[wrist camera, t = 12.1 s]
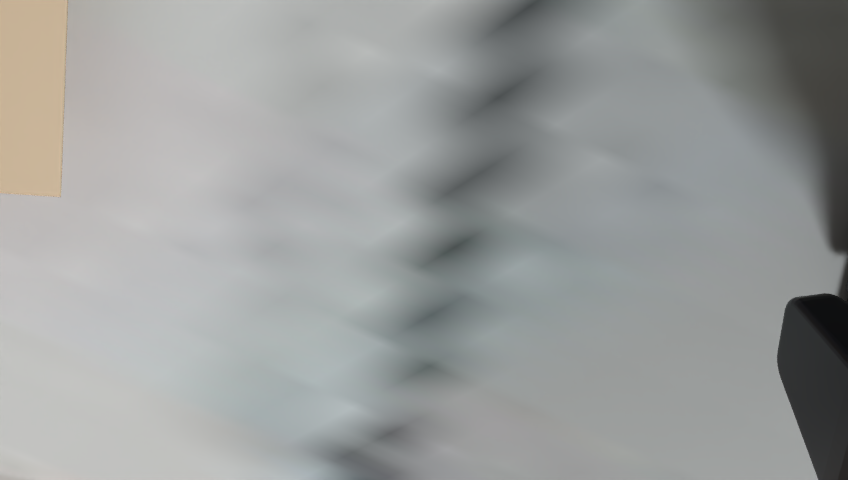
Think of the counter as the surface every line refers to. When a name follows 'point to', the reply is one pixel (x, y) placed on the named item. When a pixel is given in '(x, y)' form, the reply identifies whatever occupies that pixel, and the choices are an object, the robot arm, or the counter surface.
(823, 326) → the robot arm
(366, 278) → the counter surface
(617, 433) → the counter surface
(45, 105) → the carton
